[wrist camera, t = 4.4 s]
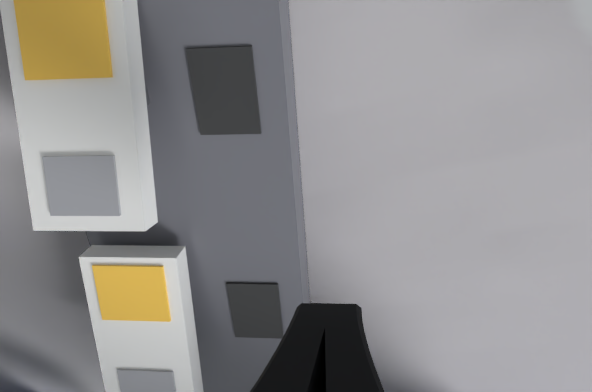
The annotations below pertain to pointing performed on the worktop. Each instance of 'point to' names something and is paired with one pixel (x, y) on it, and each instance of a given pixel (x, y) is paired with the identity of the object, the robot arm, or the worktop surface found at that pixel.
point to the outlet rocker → (81, 113)
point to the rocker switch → (142, 317)
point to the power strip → (226, 174)
